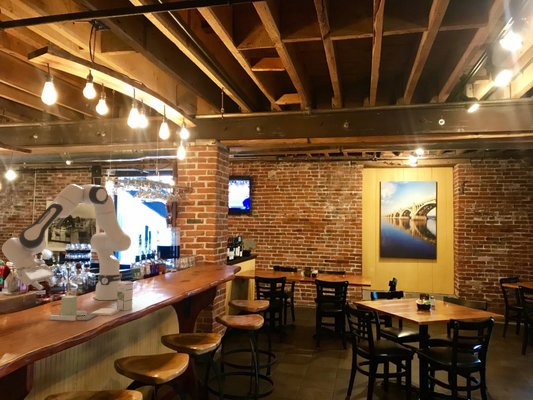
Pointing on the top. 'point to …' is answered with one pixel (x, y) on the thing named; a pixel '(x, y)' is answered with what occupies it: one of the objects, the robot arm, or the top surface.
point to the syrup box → (124, 295)
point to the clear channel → (73, 318)
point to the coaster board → (105, 311)
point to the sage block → (69, 305)
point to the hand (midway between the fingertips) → (47, 287)
